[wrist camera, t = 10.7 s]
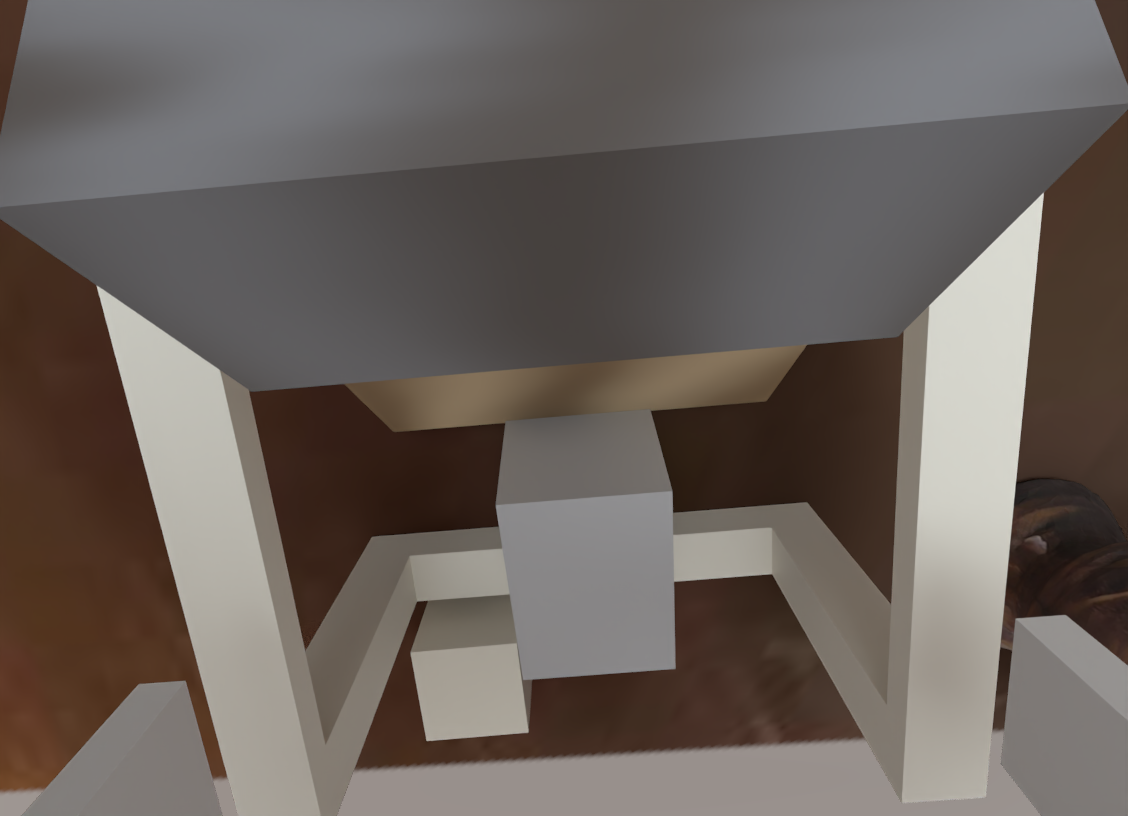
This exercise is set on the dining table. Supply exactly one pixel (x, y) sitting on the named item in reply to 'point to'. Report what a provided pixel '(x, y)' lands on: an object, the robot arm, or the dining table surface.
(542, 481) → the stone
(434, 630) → the pumice block
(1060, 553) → the mortar and pestle
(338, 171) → the trapdoor
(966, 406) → the frame
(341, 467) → the dining table surface
